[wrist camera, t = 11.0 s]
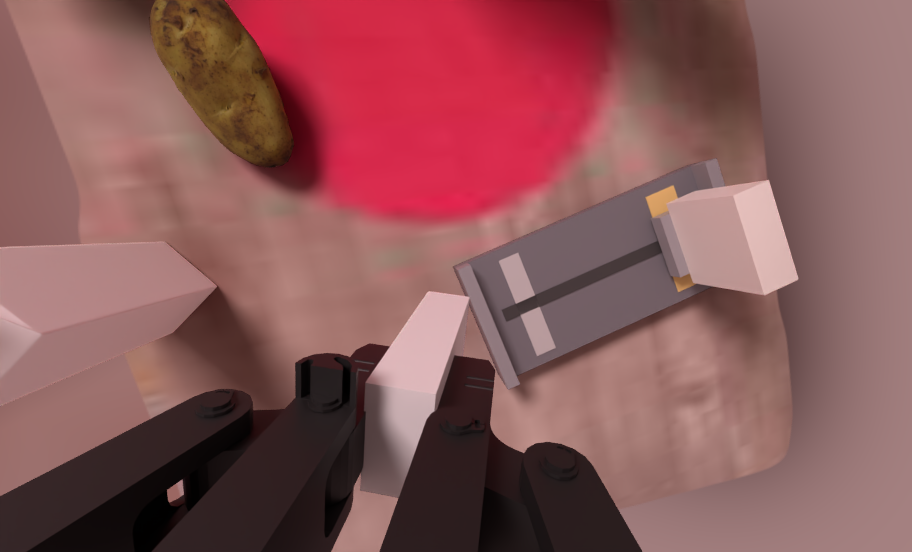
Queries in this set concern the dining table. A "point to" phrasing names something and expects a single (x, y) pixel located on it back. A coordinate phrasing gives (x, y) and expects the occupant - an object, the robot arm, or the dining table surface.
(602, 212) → the fader deck
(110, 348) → the milk
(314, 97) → the dining table surface
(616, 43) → the dining table surface
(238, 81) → the potato
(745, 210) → the fader knob
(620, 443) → the dining table surface
